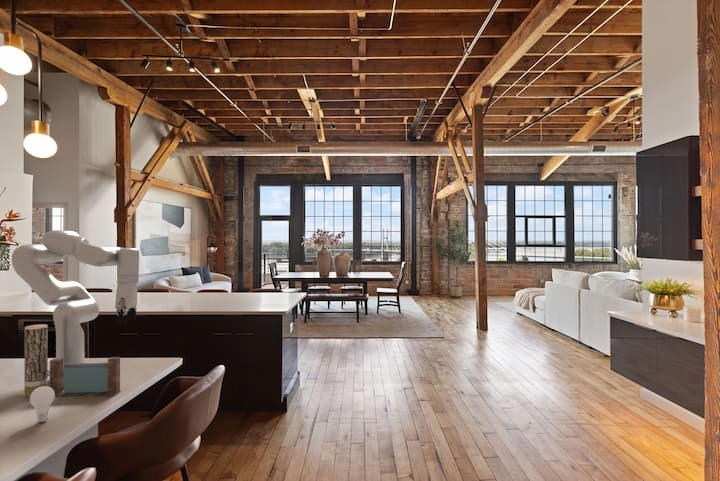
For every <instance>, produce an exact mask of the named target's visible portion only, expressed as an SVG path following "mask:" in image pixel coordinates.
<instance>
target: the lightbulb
mask: <svg viewBox="0 0 720 481" xmlns="http://www.w3.org/2000/svg"><path fill="white" fill-rule="evenodd" d="M55 398H56V397H55V392H54V390H53V389H52V388H51V387H50V386H41V387H38V388H36V389H35V390H34V391H33V392H32V393H31V395H30V398H29V403H30V404H31V406H32V407H34V409H35V413H36V415H37V419H36V420H37V422H38V423H41V424H42V423H45V422H47V421H48V420H49V418H48V417H49V415H48V414H49V413H48V412H49V410H50V407H51V405H52V404H53V402H54V400H55Z"/></svg>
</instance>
